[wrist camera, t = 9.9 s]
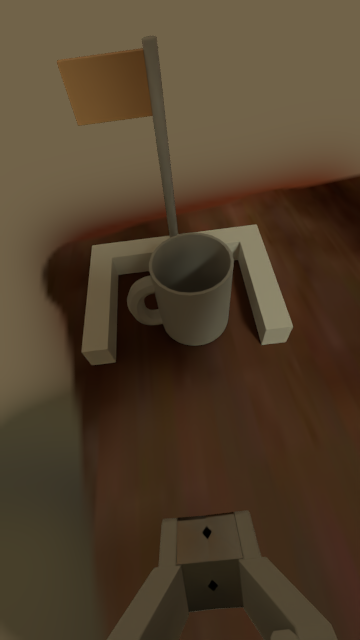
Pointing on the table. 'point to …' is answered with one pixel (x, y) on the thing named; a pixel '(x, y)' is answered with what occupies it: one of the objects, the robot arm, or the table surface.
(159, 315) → the cup
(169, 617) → the robot arm
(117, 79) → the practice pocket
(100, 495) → the table surface
